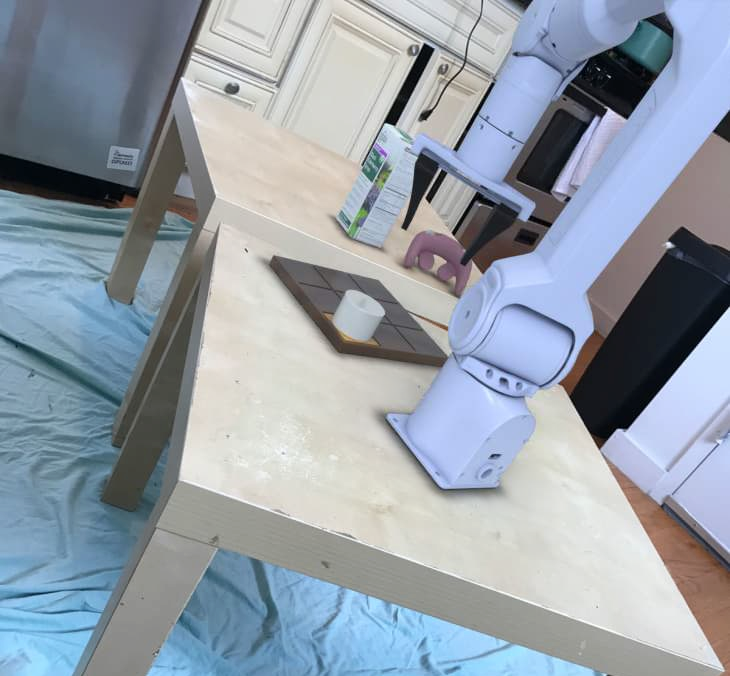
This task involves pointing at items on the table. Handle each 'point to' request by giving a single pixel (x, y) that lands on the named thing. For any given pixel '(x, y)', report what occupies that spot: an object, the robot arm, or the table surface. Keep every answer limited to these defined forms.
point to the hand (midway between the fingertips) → (433, 245)
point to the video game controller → (444, 248)
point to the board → (328, 286)
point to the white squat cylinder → (358, 316)
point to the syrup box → (380, 188)
